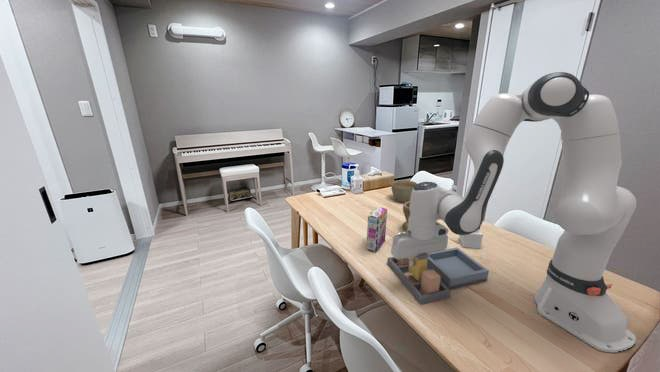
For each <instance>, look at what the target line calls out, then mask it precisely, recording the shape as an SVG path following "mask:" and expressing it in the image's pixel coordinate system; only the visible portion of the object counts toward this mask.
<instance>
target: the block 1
mask: <svg viewBox="0 0 660 372" xmlns="http://www.w3.org/2000/svg"><path fill="white" fill-rule="evenodd" d="M406 264H409V259H408V258H403V259H397V263H396V265H397V266H401V265H406Z"/></svg>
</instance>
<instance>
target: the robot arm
mask: <svg viewBox="0 0 660 372" xmlns="http://www.w3.org/2000/svg"><path fill="white" fill-rule="evenodd" d="M551 119H552V120H554V121H555V122H556V123H557V125H558V127H559V129H560V139H561V150H562V161H563V176H562V182H561V188H560V189H561V190H560V196H559V199H558V200H559V201H558V204H557V206H556V207H555V210H554V218H555V221H556V223H557V225H558V226H559V227H561V228H562V230H564V231H563V233H562V234H561V235H560V236H559V238H558V240H557V242H556V246H555V250H554V252H553V253H554V254H553V256H552V259H550V261H549V262H548V266H547V270H546V276H545V278H544V280H543V283H542V284H541V286H540V287H539V289H538V290H537V291H536V293H535V294H534V296H533V298H534V301H535V303H536V305H537V307H536V311H537V313H538V314H539V315H541V316H543V318H546V319H547V320H549V321H550V322H551V323H554V324H555V325H557V326H559V327H560V328H561V329H563V330H565V331H567V332H568V333H570V334H572V335H573V336H575V337H576V338H578V339H580V340H581V341H583V342H585V343H586V344H588V345H590V346H591V347H593V348H594V349H596V350H598V351H600V352H605V353H619V352H618V351H622V350H625V351H627V350H626V349H628V348H630V347H632V346H633V345H634V344H636V341H637V337H636V335H635V334H634V333H633V332H631V331H630V330H629V329H627V327H628V318H627V315H626V314H625V313H624V312H623V310H621V308H620V307H619V306H618V305H617V304H616V302H615V301H614V300H613V299H612V297H610V295H609V294H608V293H607V290H609V289H611V288H612V286H613V284H612V283H610V284H606V282H605V280H604V276H603V275H604V272H605V270H606V269H607V268H606V267H607V265H608V262H609V259H610V257H611V255H612V252H613V251H614V249H615V248H616V246H617V244H618V242H619V241H620V239H621V237H622V235H623V234H624V232H625V230H626V228H627V226H628V224H629V222H630V220H631V218H632V215H633V214H634V212H635V210H636V209H637V199H636V197H635V195H634V194H633V192H631V191H630V190H629V189H627V188H625V187H622V186H618V181H619V175H620V171H621V168H622V166H623V159H622V158H623V157H622V148H621V137H620V128H619V122H618V117H617V113H616V111H615V108H614V105H613V102H612V100H611V99H610V98H609V97H608V96H605V95H602V94H590V92H589V91H588V89H587V88H585V86H583V85H582V82H581V81H580V80H579V78H577V76H575V75H574V74H572V73H570V72H564V71H556V72H552V73H548V74H545V75H543V76H541V77H539V78H538V79H536V80H535V81H534V82H533V83H531V84H530V85H528V86H527V88H526V89H525V90H523V91H522V92H521V93H520V94H512V93H505V92H504V93H503V92H501V93H497V94H495V95H493V96H491V97H490V98H489V99H488V100H487V102H486V103H485V105H483V107H482V108H481V110H480V112H479V113H478V115H477V116H476V117H475V119H474V121H473V123H472V124H471V126H470V128H469V131H468V132H467V136H466V138H465V142H464V145H465V146H464V147H465V150H466V153H467V154H468V156H469V157H470V159H471V161H472V164H473V167H474V170H473V176H472V178H471V180H470V182H469V185H468V186H467V189H466V192H465V194H464V195H463V196H462V195H461V194H459V192H456V191H454V190H452V189H451V190H450V189H446V188H443V187H442V186H440V185H439V184H437V182H432V181H422V182H419V183H417V185H415V186H414V188H413V190H412V193H411V198H410V206H409V209H410V216H409V218H408V230H407V231H406V232H404V231H402V232H397V233H396V234H395V235H394V236H392V244H391V251H390V253H391V255H392V257H395V258H396V259H403V258H408V259H409V264H410V266H415V265H416V262H415V261H414V260H413V258H414V256H418V254H423V253H427V254H428V258H429V256H430V253H433V252H439V251H444V250H446V249H448V248H447V247H448V241H449V236H448V233H449V230H450V232H452V234H454V235H458V236H459V235H468V234H471V233H473V232H475V231H476V230H478V229H479V228H480V229H481V226H482V225H483V222H484V217H485V212H486V209H487V206H488V203H489V201H490V198H491V196H492V193H493V191H494V189H495V187H496V185H497V182H498V180H499V177H500V175H501V173H502V170H503V167H504V162H505V159H504V155H505V152H506V148H507V146H508V144H509V142H510V140H511V139H512V136H513V135H514V133H515V131H516V129H517V128H518V126H519V125H520V124H521V123H522V122H542V121H547V120H551ZM439 220H441V221H443V222H444V224H445V225H446V226H447V227H448V228H447V227H446V226H445V225H444V224H442V223H440V222H439ZM629 339H630V340H629ZM634 346H635V345H634ZM634 346H633V347H634ZM633 347H632V348H633ZM630 349H631V348H630ZM628 350H629V349H628ZM622 352H623V351H622Z"/></svg>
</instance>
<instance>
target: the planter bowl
mask: <svg viewBox="0 0 660 372" xmlns="http://www.w3.org/2000/svg"><path fill="white" fill-rule="evenodd" d="M417 184H418V183H417V182H415V181H412V180H406V179H399V180H394V181H392V182H391V184H390V185H391V192H392V194H393V197H394V198H395V201H397V202H399V203H403V204H405V203H406V202H409V201H410V198H411V193H412V190H413V188H414V186H415V185H417Z"/></svg>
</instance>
